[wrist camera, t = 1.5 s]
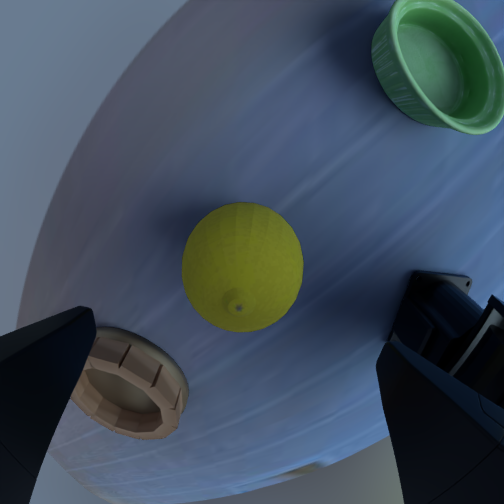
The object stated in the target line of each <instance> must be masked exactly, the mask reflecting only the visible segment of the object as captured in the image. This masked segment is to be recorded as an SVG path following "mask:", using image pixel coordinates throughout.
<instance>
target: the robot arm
mask: <svg viewBox="0 0 504 504" xmlns="http://www.w3.org/2000/svg"><path fill="white" fill-rule="evenodd" d="M418 276H419V279H417V277H418ZM416 279H417V280H416ZM471 284H472V279H471V278H470V277H468V276H462V275H454V274H445V273H436V272H428V271H419V270H418V271H415V272H414V273H413V274H412V276H411V279H410V282H409V285H408V288H407V291H406V293H405V296H404V299H403V301H402V304H401V306H400V309H399V311H398V314H397V317H396V319H395V322H394V324H393V327H392V330H391V332H390V335H389V337H388V339H387V342H386V343H385V345H384V347H383V349H382V351H381V353H380V355H379V358H378V360H377V363H376V371H377V377H378V382H379V388H380V394H381V400H382V406H383V410H384V414H385V418H386V422H387V426H388V430H389V434H390V437H391V442H392V446H393V450H394V455H395V459H396V463H397V468H398V473H399V478H400V483H401V488H402V494H403V499H404V504H504V302H503V301H501V300H500V299H498V298H497V297H495V296H494V295H491V297H490V298H489V300H488V304H487V306H486V308H485V309H482V308H481V307H480V306H479V305H478V304H477V303H476V302H475V301H474V300H472V299H471V298H470V297H469V296H468V292H469V290H470V287H471ZM96 334H97V330H96V325H95V320H94V314H93V311H92V309H91V308H89V307H84V306H78V307H75V308H72V309H70V310H67V311H64V312H62V313H59V314H57V315H54V316H51V317H49V318H46V319H44V320H41V321H38V322H36V323H33V324H31V325H28V326H26V327H23V328H20V329H18V330H15V331H13V332H10V333H8V334H5V335H3V336H0V504H29V502H30V499H31V495H32V492H33V489H34V486H35V483H36V478H37V476H38V473H39V471H40V468H41V465H42V463H43V460H44V457H45V455H46V452H47V450H48V447H49V445H50V442H51V440H52V437H53V435H54V432H55V430H56V428H57V425H58V423H59V421H60V419H61V416H62V414H63V412H64V410H65V407H66V405H67V403H68V401H69V399H70V397H71V395H72V393H73V391H74V388H75V386H76V384H77V382H78V380H79V378H80V376H81V374H82V371H83V369H84V366H85V364H86V361H87V358H88V356H89V353H90V351H91V348H92V346H93V343H94V341H95V338H96ZM394 340H395V341H394Z"/></svg>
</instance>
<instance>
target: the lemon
mask: <svg viewBox="0 0 504 504" xmlns="http://www.w3.org/2000/svg"><path fill="white" fill-rule="evenodd" d="M303 264H304V261H303V255H302V250H301V246H300V242H299V240H298V238H297V236H296V235H295V233H294V231H293V229H292V227H291V226H290V225H289V224H288V223H287V222H286V221H285V220H284V219H283V217H282V216H281V215H279V214H278V213H276V212H274V211H273V210H271V209H270V208H268V207H265V206H262V205H259V204H256V203H246V202H237V203H232V204H227V205H224V206H222V207H220V208H217V209H215V210H213V211H211V212H210V213H209V214H208V215H206V216H205V217H204V218H203V219H202V220H201V221H200V222H199V223H198V224H197V225H196V227H195V228H194V230H193V231H192V233H191V234H190V236H189V238H188V240H187V243H186V246H185V250H184V253H183V257H182V280H183V285H184V289H185V293H186V295H187V297H188V299H189V301H190V303H191V304H192V306H193V308H194V309H195V310H196V311H197V312H198V313H199V314H200V315H201V316H202V317H203V318H204V319H205V320H207V321H208V322H210V323H211V324H213V325H214V326H216V327H219V328H221V329H224V330H227V331H233V332H252V331H256V330H260V329H263V328H265V327H267V326H269V325H271V324H273V323H275V322H277V321H278V320H279V319H280V318H281V317H282V316H284V315H285V314H286V313H287V311H288V310H289V309H290V307H291V306H292V304H293V303H294V302H295V300H296V298H297V295H298V292H299V289H300V287H301V284H302V278H303Z"/></svg>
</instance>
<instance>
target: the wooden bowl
mask: <svg viewBox="0 0 504 504" xmlns="http://www.w3.org/2000/svg"><path fill="white" fill-rule="evenodd" d="M96 330H97V334H96V338H95V341H94V343H93V346H92V348H91V351H90V353H89V356H88V358H87V361H86V364H85V366H84V369H83V371H82V374H81V376H80V378H79V380H78V382H77V384H76V386H75V388H74V391H73V393H72V395H71V399H72V401H73V402H74V403H75V404H76V405H77V406H78V407H79V408H80V409H81V410H82V411H83V412H84V413H85V414H86V415H87V416H91V417H90V418H91V419H93V420H94V421H96V422H98V423H99V424H101V425H103V426H104V427H106V428H108V429H109V430H111V431H114V430H115V432H116V433H119V434H122V435H125V436H129V437H132V438H136V439H140V438H141V439H142V440H149V439H163V437H164V438H166V437H167V436H168V435H170V434H171V433H172V432H173V431H175V430H176V429H177V427H178V423H179V419H180V415H181V413H182V412H183V411H184V409H185V407H186V403H187V399H188V394H189V388H188V383H187V380H186V378H185V376H184V374H183V372H182V370H181V369H180V367H179V366H178V365H177V364H176V362H175V361H174V360H173V359H172V358H171V357H170V356H169V355H168V354H167V353H165V352H164V351H163V350H162V349H161V348H159V347H158V346H156V345H155V344H153V343H152V342H150V341H148V340H147V339H145V338H143V337H141V336H139V335H137V334H134V333H131V332H129V331H126V330H122V329H118V328H112V327H97V328H96Z"/></svg>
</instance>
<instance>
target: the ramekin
mask: <svg viewBox="0 0 504 504" xmlns="http://www.w3.org/2000/svg"><path fill="white" fill-rule="evenodd" d="M371 57H372V62H373V67H374V70H375V73H376V75H377V78H378V80H379V82H380V84H381V86H382V88H383V89H384V91H385V93H386V94H387V96H388V97H389V98H390V100H391V101H392V102H393V103H394V104H395V105H396V106H397V107H398V108H399V109H400V110H401V111H402V112H404V113H405V114H406V115H408V116H409V117H411V118H412V119H414V120H416V121H418V122H420V123H422V124H425V125H429V126H435V127H443V128H451V129H453V130H456V131H459V132H462V133H466V134H472V135H479V134H484V133H487V132H489V131H491V130H492V129H494V128H495V127H496V126H497V125H498V124H499V122H500V121H501V119H502V117H503V115H504V68H503V64H502V61H501V59H500V56H499V54H498V52H497V49H496V47H495V46H494V44H493V42H492V40H491V39H490V37H489V35H488V34H487V32H486V31H485V30H484V28H483V27H482V26H481V25H480V23H479V22H478V21H477V20H476V19H475V18H474V17H473V16H472V15H471V14H470V13H469V12H468V11H467V10H466V9H464V8H463V7H462V6H461V5H459V4H458V3H456V2H455V1H453V0H396V1H395V2H394V4H393V5H392V7H391V9H390V11H389V14H388V15H387V17H386V18H385V19H384V20H383V22H382V23H381V24H380V26H379V27H378V28H377V30H376V32H375V34H374V36H373V40H372V44H371Z"/></svg>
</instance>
